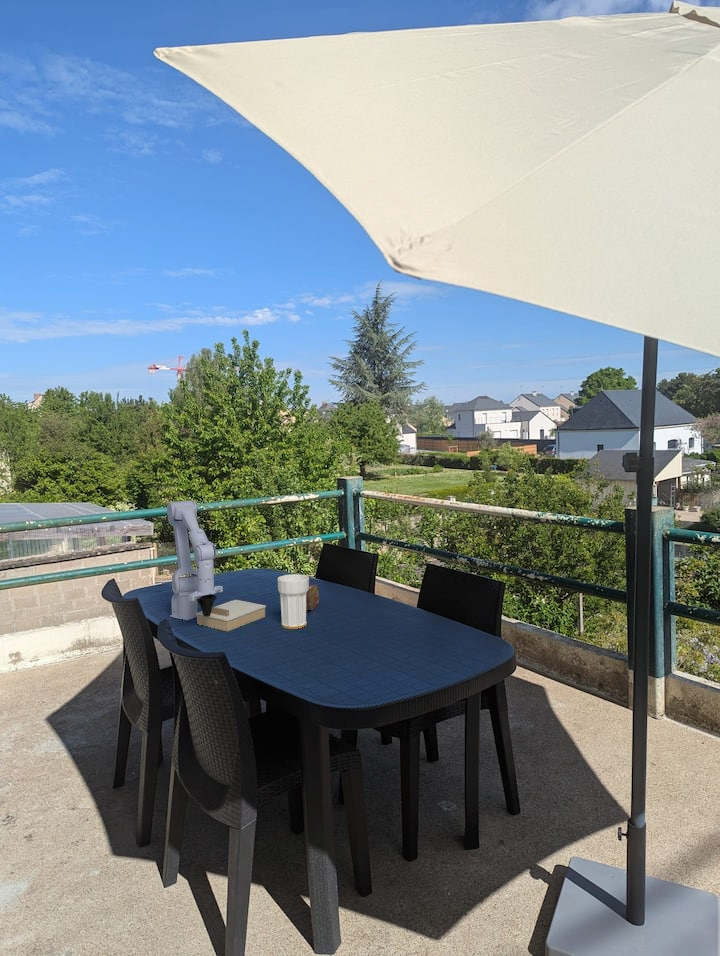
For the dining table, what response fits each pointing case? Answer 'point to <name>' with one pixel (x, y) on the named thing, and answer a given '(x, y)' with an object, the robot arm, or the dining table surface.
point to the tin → (312, 597)
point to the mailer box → (232, 623)
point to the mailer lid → (232, 610)
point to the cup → (293, 600)
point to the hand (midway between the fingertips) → (206, 615)
